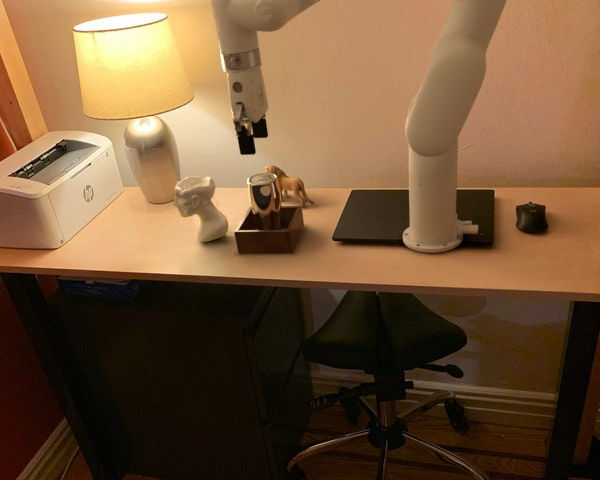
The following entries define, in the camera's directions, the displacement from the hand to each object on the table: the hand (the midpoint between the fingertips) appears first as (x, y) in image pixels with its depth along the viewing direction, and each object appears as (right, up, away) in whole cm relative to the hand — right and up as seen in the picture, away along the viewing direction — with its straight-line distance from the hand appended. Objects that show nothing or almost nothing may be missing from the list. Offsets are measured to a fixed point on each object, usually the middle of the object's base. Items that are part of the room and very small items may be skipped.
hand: (254, 145), depth 124 cm
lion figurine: (+7, -7, +29) cm, 31 cm away
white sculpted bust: (-12, -18, +16) cm, 28 cm away
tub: (+3, -18, +12) cm, 22 cm away
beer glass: (+3, -19, +12) cm, 23 cm away
